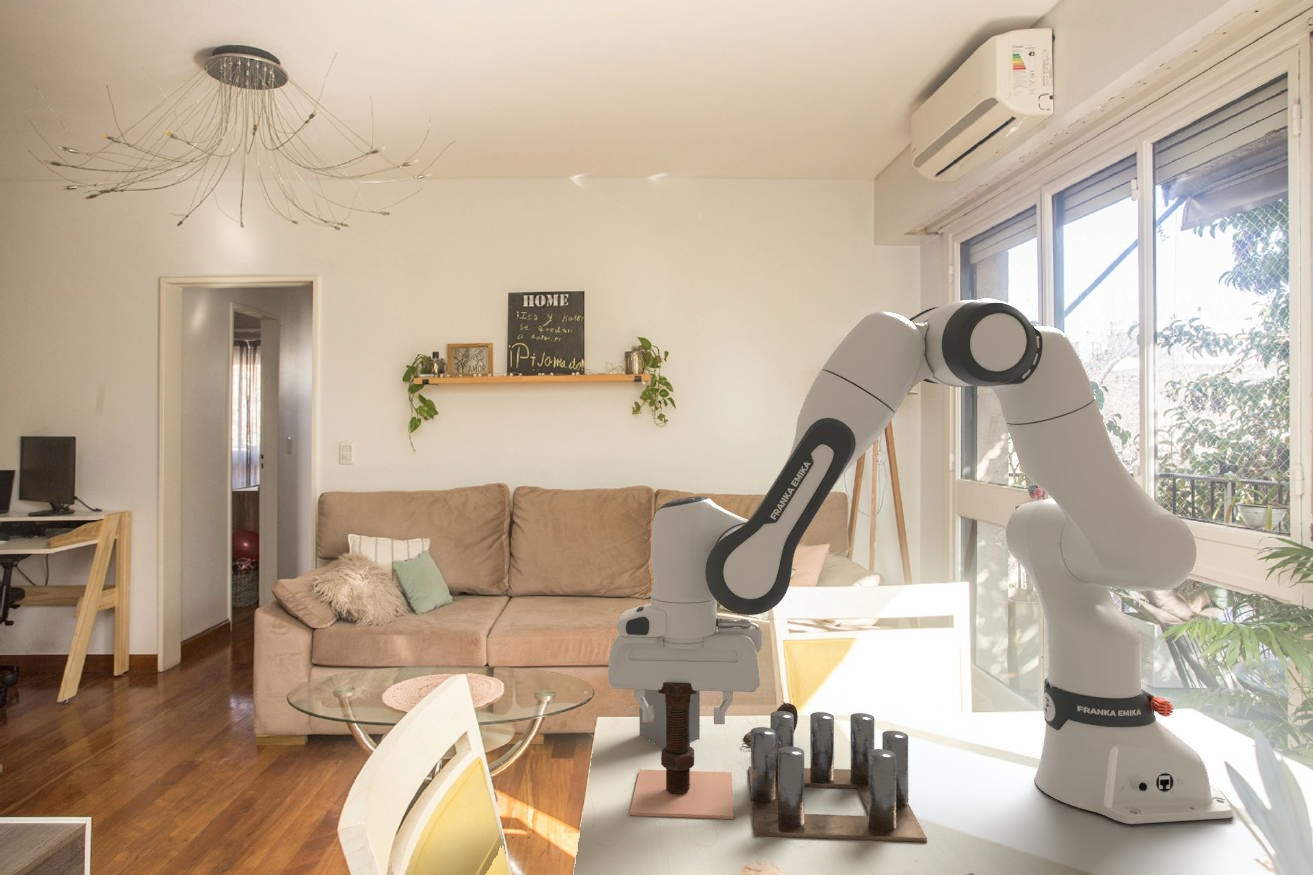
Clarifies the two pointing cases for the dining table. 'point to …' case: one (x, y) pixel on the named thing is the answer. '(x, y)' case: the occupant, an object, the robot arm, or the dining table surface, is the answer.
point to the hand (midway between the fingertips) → (683, 722)
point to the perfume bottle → (658, 727)
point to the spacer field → (830, 781)
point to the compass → (783, 707)
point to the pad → (684, 796)
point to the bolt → (677, 737)
